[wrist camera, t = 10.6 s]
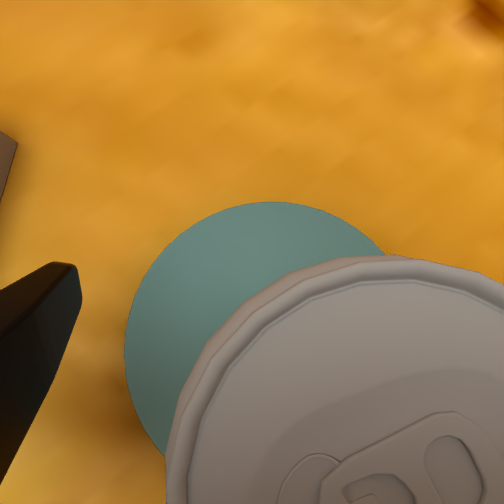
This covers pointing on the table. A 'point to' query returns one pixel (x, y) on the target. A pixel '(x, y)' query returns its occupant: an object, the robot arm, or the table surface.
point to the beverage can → (348, 391)
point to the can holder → (5, 158)
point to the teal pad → (217, 291)
